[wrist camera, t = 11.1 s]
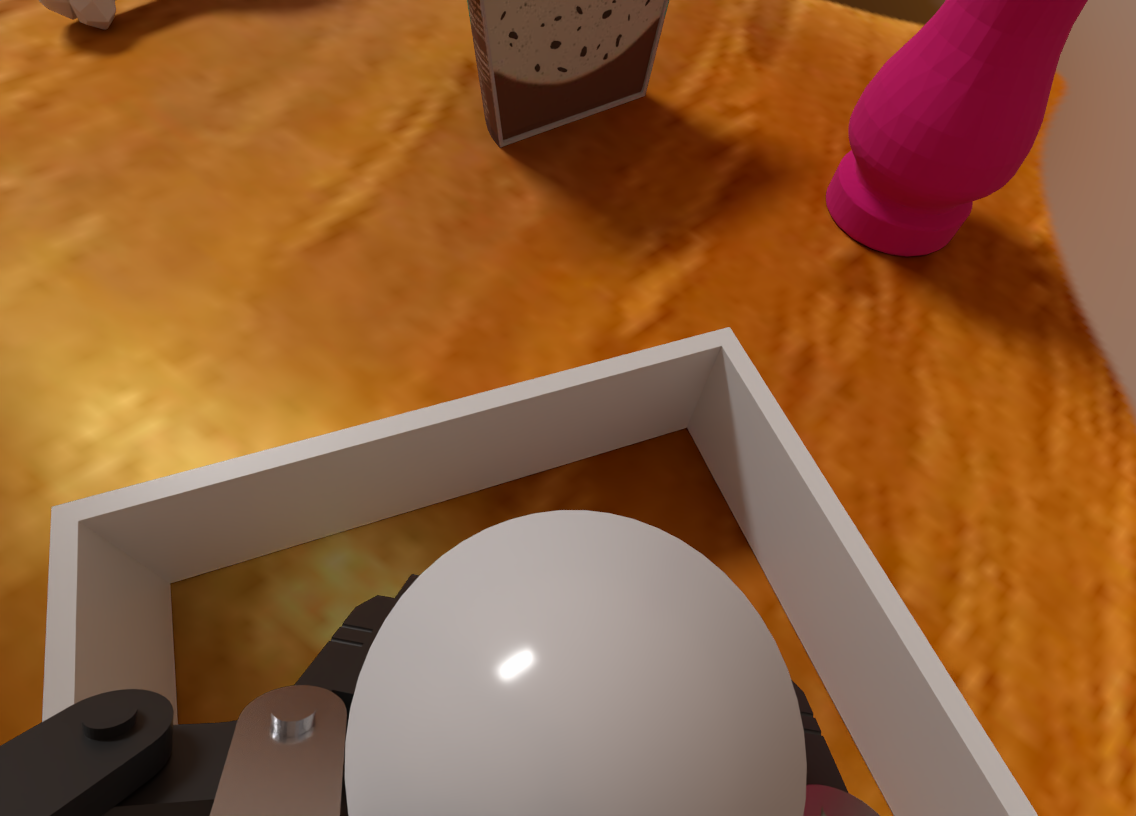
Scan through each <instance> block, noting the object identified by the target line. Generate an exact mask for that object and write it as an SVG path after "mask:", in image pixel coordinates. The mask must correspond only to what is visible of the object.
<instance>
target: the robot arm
mask: <svg viewBox="0 0 1136 816" xmlns="http://www.w3.org/2000/svg"><path fill="white" fill-rule="evenodd" d="M419 576H420V575H414V574H412V575H411V576H410V577H409V578H408V580H407V581H406V583H405V584H404V586H403V587H402V589H401V590H400V591H399V593H398V594H397V596H396V597H395V598H390V597H385V596H380V595H377V596H375V597H373V598H372V599H370V600H368V601H366V602H364V603H362V604H361V605H359V606H357V607H355V609H354V610H353V611H352V612H351V614H350V615H349V616H348V618H347V619H346V620H345V621H344V623H343V625H342V627H340V628H339V629H338V630H337V631H336V633H335V634H334V635H333V637H332V639H331V641H329V642H328V643H327V644H326V645H325V647H324V648H323V649H322V650H321V652H320V653H319V654H318V656H317V657H316V658H315V659H314V661H313V662H312V663H311V664H310V666H309V667H308V668H307V670H306V671H305V672H304V673H303V675H302V676H301V677H300V678H299V680H298V681H297V682H296V683H295V685H294V686H287V687H282V688H278V689H275V690H272V691H270V692H267V693H265V694H263V695H261V696H259V697H257V698H256V699H255V700H253V701H252V702H251V703H249V704H248V705H247V706H246V707H245V708H244V710H243V711H242V713H241V714H240V716H239V719H238V720H235V721H230V722H221V723H203V724H181V725H173V715H174V711H173V706H172V704H171V703H170V701H169V700H168V699H167V698H166V697H164V696H162V695H161V694H159V693H156V692H153V691H148V690H142V689H123V690H115V691H110V692H105V693H101V694H98V695H95V696H91V697H89V698H86V699H84V700H81V701H79V702H77V703H75V704H73V705H71V706H69V707H68V708H66V709H64V710H62V711H61V712H59V713H57V714H55V715H54V716H52V717H50V718H48V719H47V720H45V721H43V722H41V723H40V724H38V725H36V726H34V727H33V728H31V729H29V730H27V731H26V732H24V733H22V734H20V735H19V736H17V737H15V738H13V739H12V740H10V741H8V742H7V743H5V744H3V745H1V746H0V816H349V815H348V807H347V797H346V787H345V742H346V734H347V727H348V720H349V713H350V707H351V704H352V700H353V696H354V692H355V689H356V685H357V681H358V677H359V675H360V672H361V669H362V667H363V664H364V662H365V659H366V657H367V654H368V652H369V649H370V647H371V645H372V643H373V641H374V639H375V637H376V636H377V634H378V632H379V630H380V628H381V626H382V624H383V622H384V621H385V619H386V618H387V616H388V615H389V613H390V612H391V611H392V609H393V608H394V606H395V605H396V603H397V602H398V600H399V599H400V598H401V596H402V595H403V594H404V593H405V592H406V590H407V589H408V588H409V587H410V586H411V585H412V584H413V583H414V581H415V580H416V579H417V578H418V577H419ZM791 681H792V680H791ZM792 684H793V687H794V691H795V694H796V697H797V700H798V705H799V710H800V715H801V720H802V725H803V730H804V738H805V750H806V762H807V774H806V801H805V808H804V814H803V816H879V814H878V813H876V812H875V811H874V810H873V809H872V808H871V807H869V806H868V805H867V804H865V803H864V802H863V801H861V800H859V799H858V798H856V797H854V796H853V795H851V794H849V793H848V791H847V789H846V786H845V784H844V782H843V780H842V777H841V775H840V773H839V771H838V768H837V766H836V764H835V762H834V759H833V757H832V755H831V753H830V750H829V748H828V746H827V744H826V741H825V739H824V737H823V736H821V730H820V728H819V726H818V723H817V721H816V719H815V718H813V712H812V710H811V708H810V705H809V703H808V701H807V699H806V696H805V694H804V692H803V691H802V690H801V689H800V688H799V687H798V686H797V685H796V684H795V683H794V682H793V681H792Z"/></svg>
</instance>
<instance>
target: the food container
mask: <svg viewBox="0 0 1136 816" xmlns="http://www.w3.org/2000/svg"><path fill="white" fill-rule="evenodd" d="M467 3H468V9H469V16H470V22H471V29H472V35H473V42H474V48H475V55H476V61H477V68H478V74H479V81H480V87H481V94H482V100H483V107H484V113H485V120H486V124H487V128H488V131H489V133H490V135H491V137H492V138H493V140H494V141H495V142H496V143H497V145H498V146H499V147H503V146H506V145H509V144H511V143H514V142H517V141H520V140H523V139H525V138H528V137H531V136H534V135H537V134H539V133H542V132H545V131H548V130H551V129H553V128H556V127H559V126H562V125H565V124H567V123H570V122H573V121H576V120H579V119H582V118H584V117H587V116H590V115H593V114H596V113H598V112H601V111H604V110H607V109H610V108H612V107H615V106H618V105H621V104H624V103H626V102H629V101H632V100H635V99H638V98H640V97H643V96H645V94H646V90H647V86H648V82H649V79H650V75H651V71H652V67H653V63H654V59H655V55H656V51H657V47H658V43H659V39H660V35H661V31H662V27H663V23H664V19H665V15H666V11H667V7H668V3H669V0H467Z"/></svg>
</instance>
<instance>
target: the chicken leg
mask: <svg viewBox="0 0 1136 816" xmlns="http://www.w3.org/2000/svg"><path fill="white" fill-rule="evenodd" d="M39 1H40V2H41V3H42V4H43V5H44V6H45V7H46V8H48V9H49V10H52V11H54V12H56V13H59V14H61V15H63V16H66V17H68V18H70V19H73V20H74V19H76V18H78V20H79V22H81V23H83V24H86V25H89V26H93V27H96V28H100V29H103V30H105V29H108V27H109V26H110V24H111V22H112V21H113V19H114V17H115V12H116V7H115V1H116V0H39Z"/></svg>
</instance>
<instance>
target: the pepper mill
mask: <svg viewBox="0 0 1136 816" xmlns="http://www.w3.org/2000/svg"><path fill="white" fill-rule="evenodd" d="M1087 1H1088V0H946V1H945V3H944V4H943V5H942V6H941V7H940V9H939V10H938V11H937V12H936V14H935V15H934V16H933V17H932V18H931V19H930V20H929V21H928V22H927V23H926V24H925V25H924V26H923V27H922V28H921V30H920V31H919V32H918V33H917V34H916V35H915V36H913V37H912V38H911V39H910V40H909V41H908V42H907V43H906V44H905V45H904V46H903V47H902V48H901V49H900V50H899V51H897V52H896V53H895V54H894V55H893V56H892V57H891V58H890V59H889V60H888V61H887V62H886V63H885V64H884V65H883V67H882V68H881V69H880V70H879V72H878V73H877V74H876V75H875V77H874V78H873V79H872V80H871V82H870V83H869V84H868V85H867V87H866V88H865V90H864V92H863V94H862V95H861V97H860V99H859V101H858V102H857V104H856V106H855V108H854V110H853V112H852V115H851V118H850V123H849V141H850V145H851V149H852V151H850V152H849V153H847V154H846V155H845V156H844V157H843V159H842V161H841V162H840V164H839V166H838V168H837V170H836V172H835V174H834V176H833V178H832V180H831V182H830V184H829V186H828V189H827V192H826V203H827V207H828V210H829V212H830V214H831V216H832V218H833V219H834V221H835V222H836V223H837V225H838V226H839V227H840V228H841V229H842V230H844V231H845V232H846V233H847V234H848V235H849V236H850V237H851V238H853V239H855V240H856V241H858V242H860V243H862V244H863V245H865V246H867V247H869V248H871V249H875V250H878V251H881V252H884V253H887V254H892V255H898V256H919V255H926V254H929V253H932V252H935V251H938V250H940V249H941V248H943V247H944V246H946V245H947V244H948V243H949V241H950V240H951V239H952V238H953V236H954V235H955V234H956V232H957V231H958V230H959V228H960V227H961V225H962V224H963V223H964V221H965V220H966V219H967V217H968V216H969V214H970V212H971V209H972V201H975V200H978V199H981V198H983V197H986V196H988V195H990V194H992V193H993V192H995V191H997V190H999V189H1000V188H1002V187H1003V186H1004V185H1005V184H1006V183H1007V182H1008V181H1009V180H1010V179H1011V178H1012V177H1013V176H1014V175H1015V173H1016V172H1017V170H1018V169H1019V167H1020V166H1021V164H1022V162H1023V161H1024V159H1025V158H1026V156H1027V155H1028V153H1029V151H1030V150H1031V148H1032V146H1033V143H1034V141H1035V139H1036V136H1037V134H1038V131H1039V129H1040V126H1041V124H1042V122H1043V118H1044V114H1045V110H1046V106H1047V102H1048V98H1049V94H1050V90H1051V86H1052V82H1053V78H1054V74H1055V71H1056V67H1057V64H1058V61H1059V57H1060V54H1061V52H1062V49H1063V47H1064V45H1065V42H1066V40H1067V38H1068V35H1069V33H1070V31H1071V28H1072V26H1073V24H1074V22H1075V21H1076V19H1077V17H1078V16H1079V14H1080V12H1081V10H1082V9H1083V7H1084V6H1085V4H1086V2H1087Z"/></svg>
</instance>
